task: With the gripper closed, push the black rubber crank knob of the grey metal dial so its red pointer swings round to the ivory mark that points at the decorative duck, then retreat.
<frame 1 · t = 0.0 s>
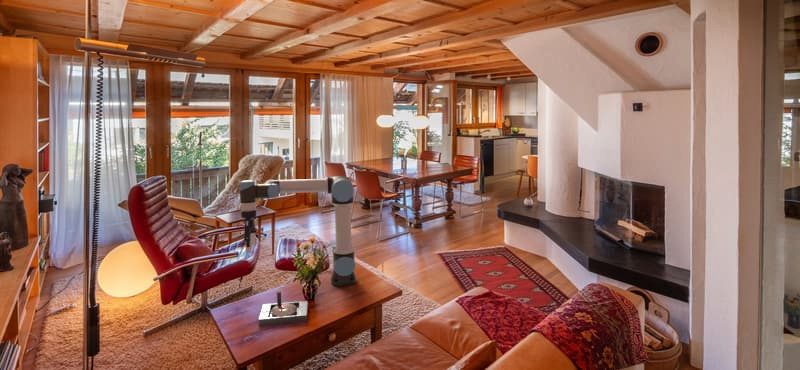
hand: (251, 248, 221), 28 cm above the table, fingers open, 13 cm apart
dial housing: (284, 316, 205), on the table
dial: (283, 304, 204), point 6 cm above the table, hinge at -60.0°
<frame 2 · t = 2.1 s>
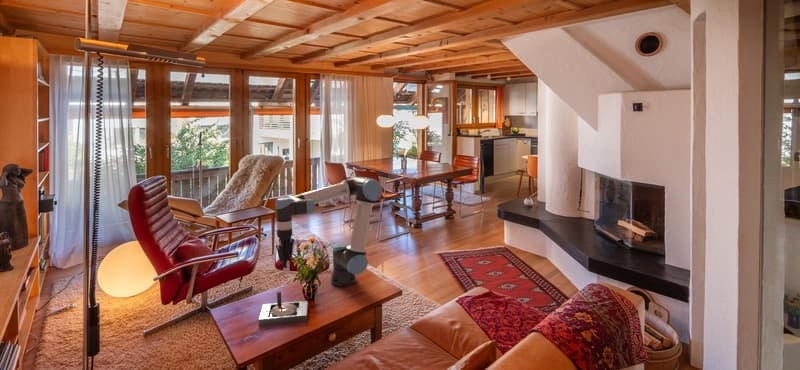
hand: (286, 273, 212), 18 cm above the table, fingers closed
nothing on the table moved.
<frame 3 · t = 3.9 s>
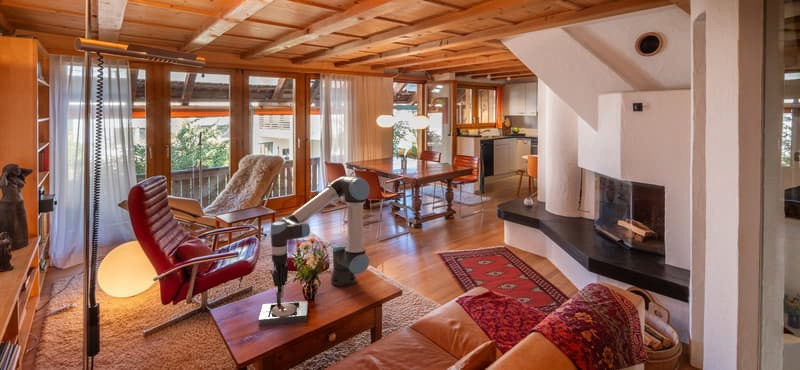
hand: (281, 297, 210), 7 cm above the table, fingers closed
dial: (283, 304, 204), point 6 cm above the table, hinge at -56.9°, touching gripper
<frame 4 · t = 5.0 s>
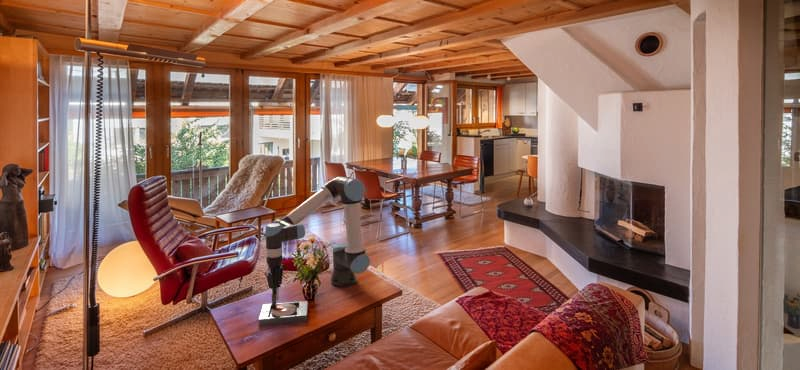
hand: (275, 299, 208), 7 cm above the table, fingers closed
dial: (283, 304, 204), point 6 cm above the table, hinge at -22.2°, touching gripper
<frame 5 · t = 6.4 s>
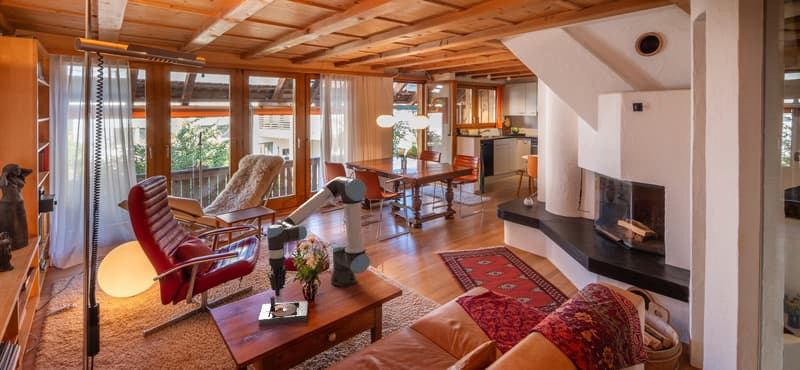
hand: (279, 301, 208), 6 cm above the table, fingers closed
dial: (283, 304, 204), point 6 cm above the table, hinge at 8.4°
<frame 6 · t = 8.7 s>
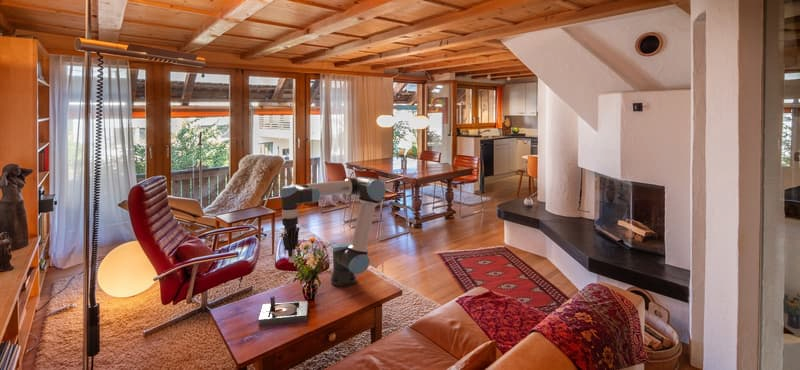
hand: (291, 261, 211), 24 cm above the table, fingers closed
nothing on the table moved.
at the end: dial at +8° (first picture: -60°) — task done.
